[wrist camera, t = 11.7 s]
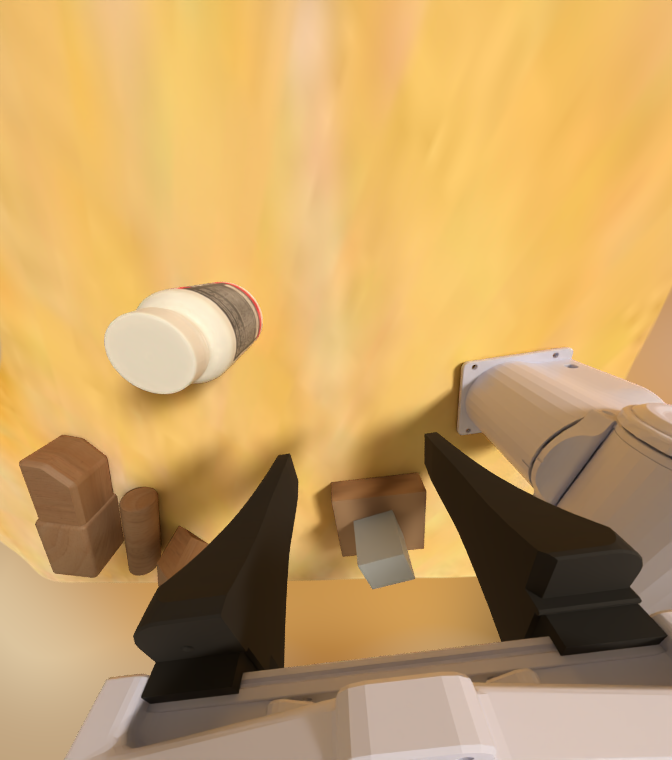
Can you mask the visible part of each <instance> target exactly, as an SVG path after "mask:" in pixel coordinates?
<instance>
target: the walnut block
mask: <svg viewBox="0 0 672 760" xmlns="http://www.w3.org/2000/svg"><path fill="white" fill-rule="evenodd" d="M332 506H333V511H334V516H335V521H336V526H337V531H338V536H339V541H340V546H341V551H342V556H353V555H357V552H356V542H355V532H354V521H355V520H359V519H362V518H366V517H369V516H373V515H376V514H380V513H383V512H387V511H390V510H392V511H393V513H394V515H395V518H396V520H397V522H398V524H399V527H400V529H401V531H402V533H403V536H404V540H405V544H406V547H407V550H414V549H424V533H425V511H426V489H425V487H424V485H423V482H422V480H421V478H420V475H419V473H410V474H402V475H393V476H384V477H375V478H366V479H357V480H348V481H339V482H332Z"/></svg>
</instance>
